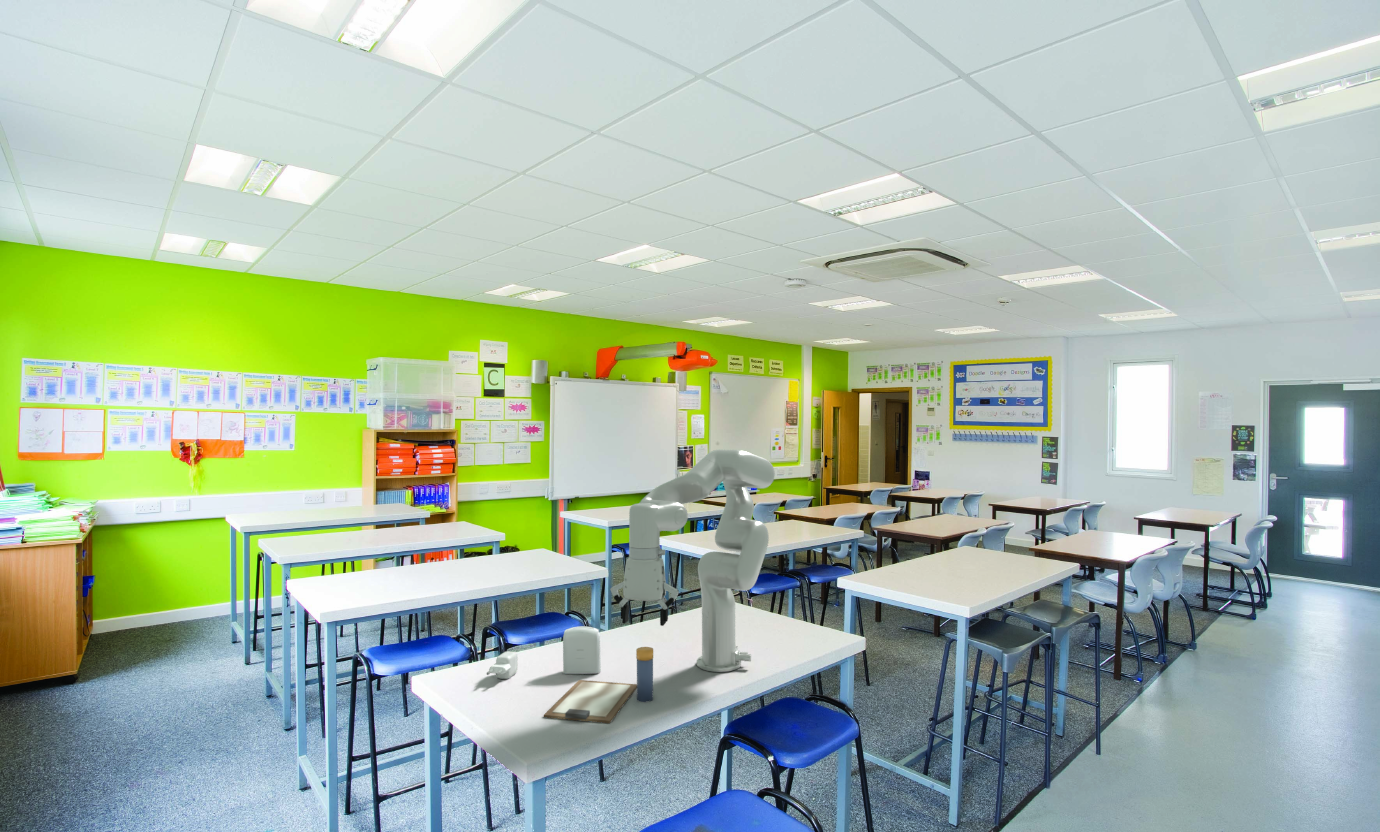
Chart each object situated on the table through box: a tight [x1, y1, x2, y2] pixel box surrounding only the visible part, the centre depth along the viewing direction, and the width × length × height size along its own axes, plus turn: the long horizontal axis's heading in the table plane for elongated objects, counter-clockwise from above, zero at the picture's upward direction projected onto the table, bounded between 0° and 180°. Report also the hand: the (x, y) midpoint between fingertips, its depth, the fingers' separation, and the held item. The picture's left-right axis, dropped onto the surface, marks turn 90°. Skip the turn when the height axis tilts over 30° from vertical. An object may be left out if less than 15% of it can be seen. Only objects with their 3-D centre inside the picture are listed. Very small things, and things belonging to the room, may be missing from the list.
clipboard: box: [543, 679, 637, 724], centre depth 160 cm, size 16×22×2 cm
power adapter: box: [486, 650, 519, 680], centre depth 175 cm, size 11×5×6 cm, turn 168°
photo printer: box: [562, 625, 602, 675], centre depth 180 cm, size 10×4×12 cm, turn 89°
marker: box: [635, 646, 654, 703], centre depth 161 cm, size 4×4×12 cm
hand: (644, 623), depth 162 cm, fingers open, 9 cm apart
